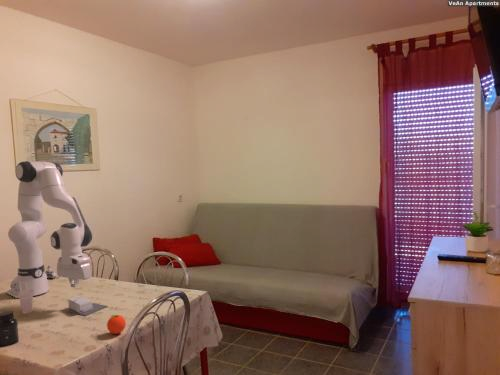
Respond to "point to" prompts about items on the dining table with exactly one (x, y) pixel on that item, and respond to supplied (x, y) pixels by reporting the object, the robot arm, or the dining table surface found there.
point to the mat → (95, 308)
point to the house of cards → (50, 273)
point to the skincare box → (80, 304)
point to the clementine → (116, 324)
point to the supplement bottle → (8, 329)
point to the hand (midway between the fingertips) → (74, 287)
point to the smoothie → (26, 300)
